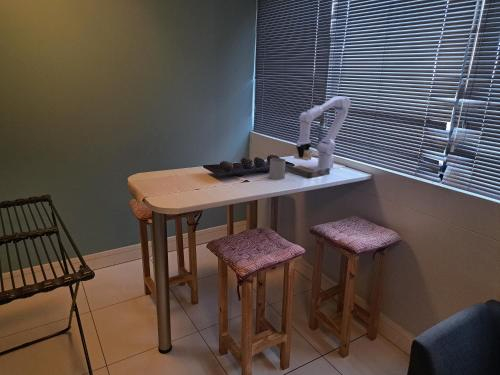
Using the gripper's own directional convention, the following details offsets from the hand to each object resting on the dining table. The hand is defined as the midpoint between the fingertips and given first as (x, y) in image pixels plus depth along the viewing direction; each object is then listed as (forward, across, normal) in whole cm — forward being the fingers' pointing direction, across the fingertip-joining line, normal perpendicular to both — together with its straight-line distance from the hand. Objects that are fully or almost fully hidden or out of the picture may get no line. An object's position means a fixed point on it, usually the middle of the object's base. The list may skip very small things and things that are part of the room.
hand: (302, 156), depth 202 cm
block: (+1, 0, 0) cm, 1 cm away
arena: (+9, +2, +3) cm, 9 cm away
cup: (+9, +22, -4) cm, 24 cm away
